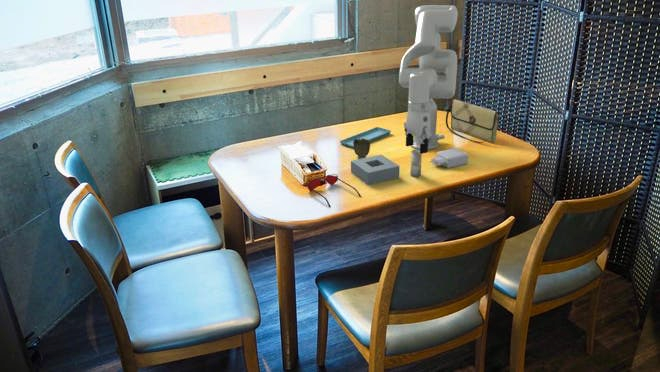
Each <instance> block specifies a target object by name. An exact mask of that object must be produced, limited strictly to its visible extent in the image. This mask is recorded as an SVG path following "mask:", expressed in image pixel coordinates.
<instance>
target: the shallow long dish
mask: <svg viewBox="0 0 660 372" xmlns="http://www.w3.org/2000/svg"><path fill="white" fill-rule="evenodd" d="M391 132H392V130H391V129H387V128H384V127H380V126H375V127H373V128H371V129H368V130H366V131H363V132H360V133H358V134H355V135H352V136H349V137H346V138H344V139H341V140H340V141H339V143H340V145H342V146H344V147H347V148H351V149H354V145H353V142H354V140H355V139H358V140H359V138H360V140H361V139H362V138H363V139H364V138H365V140H367V139H368V140H369V139H370V141H371V142H370V143H372V142H374V141H377V140H379V139H382V138H384V137H387V136H389V135H390V133H391Z"/></svg>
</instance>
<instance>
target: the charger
mask: <svg viewBox="0 0 660 372" xmlns="http://www.w3.org/2000/svg"><path fill="white" fill-rule="evenodd" d="M468 158H469V155H468V152H467V153H466V152H465V151H463V150H460V149H459V148H456V147H454V148H448V149H445V150H441V151H437V152H436V157H434V158H431V161H429V163H432V165H436V166H443V167H445V168H447V169H450V168H451V169H452V168H455V167H459V166H462V165H463V166H464V165H468V163H469V159H468Z"/></svg>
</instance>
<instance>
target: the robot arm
mask: <svg viewBox="0 0 660 372" xmlns="http://www.w3.org/2000/svg"><path fill="white" fill-rule="evenodd" d="M458 13H459V12H458V8H457V7H456V5H453V4H452V5H451V4H450V5H449V4H445V5H444V4H440V5H439V4H426V5H425V4H424V5H419V6H417V7H416V8H415V10H414V19H415V24H416V30H415V31H416V32H415V38H414V39H415V40H414V44H413V45H412V46H411V47H409V48H408V49H407V51H406V52H405V53H404V55H403V56H402V58H401V61H400V65H399V72H398V83H399V85H400V86H401V87H402V88H406V89H408V101H407V102H408V103H407V104H408V105H407V114H406V122H405V121H404V123H403V127H404V131H405V147H411V148H414V149H415V150H420V153H421V154H422V155H424V154H427V153H428V152H429V150H431V151H432V150H435V149H437V148H438V147H439V146H440V144H439V140H444V139H445V134H439V133H437V122H438V120H437V118H438V106H437V103H436V102H435V101H434V99H452V98H453V97H454V96H455V94H456V88H457V75H458V74H457V72H458V70H457V69H458V55H457V53H456V51H455V50H452V49H444V48H443V49H441V40H442V39H441V38H442V37H441V34H440V33H452V32H453V31H454V30H455V28H456V24H457V21H458V18H459V17H458V16H459V14H458ZM417 59H418V67H409V66H410V64H411V63H412V62H413V61H415V60H417ZM437 73H444V74H445V75H438V74H437Z"/></svg>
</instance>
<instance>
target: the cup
mask: <svg viewBox="0 0 660 372" xmlns="http://www.w3.org/2000/svg"><path fill="white" fill-rule="evenodd" d="M371 143H372V142H371V141H370V139H369V140H368V139H367V140H365V138H364V139H363V138H362V139H361V140H360V138H359V140H358V139H355V140H354V142H353V145H354V148H353V151H354V154H355V155H356V156H357V159H362V158H367V155H369V153H370V149H371Z"/></svg>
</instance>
